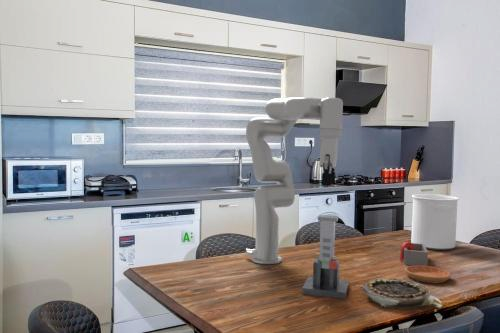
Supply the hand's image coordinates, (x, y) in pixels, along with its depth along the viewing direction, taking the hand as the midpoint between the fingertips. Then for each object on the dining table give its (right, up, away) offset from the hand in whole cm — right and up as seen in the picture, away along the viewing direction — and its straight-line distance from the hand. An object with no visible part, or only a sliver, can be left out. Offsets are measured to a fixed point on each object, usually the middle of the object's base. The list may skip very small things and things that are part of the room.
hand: (328, 184), depth 160 cm
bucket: (+63, -33, +69) cm, 100 cm away
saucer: (+40, -36, +15) cm, 56 cm away
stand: (-1, -36, -2) cm, 36 cm away
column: (-1, -28, -2) cm, 28 cm away
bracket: (+43, -35, +40) cm, 68 cm away
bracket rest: (+44, -35, +40) cm, 68 cm away
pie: (+20, -38, -9) cm, 44 cm away
